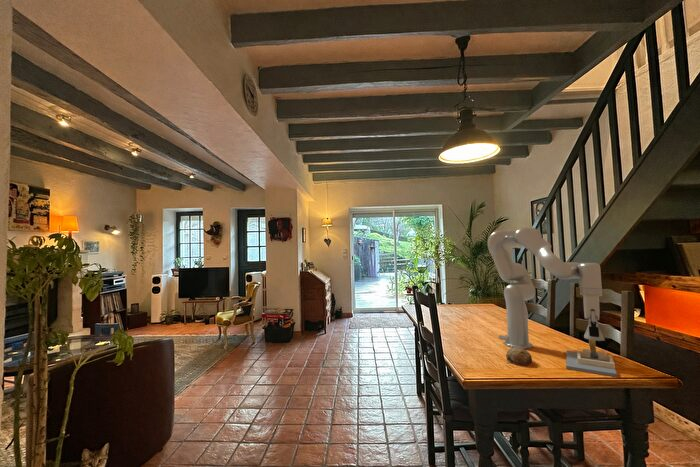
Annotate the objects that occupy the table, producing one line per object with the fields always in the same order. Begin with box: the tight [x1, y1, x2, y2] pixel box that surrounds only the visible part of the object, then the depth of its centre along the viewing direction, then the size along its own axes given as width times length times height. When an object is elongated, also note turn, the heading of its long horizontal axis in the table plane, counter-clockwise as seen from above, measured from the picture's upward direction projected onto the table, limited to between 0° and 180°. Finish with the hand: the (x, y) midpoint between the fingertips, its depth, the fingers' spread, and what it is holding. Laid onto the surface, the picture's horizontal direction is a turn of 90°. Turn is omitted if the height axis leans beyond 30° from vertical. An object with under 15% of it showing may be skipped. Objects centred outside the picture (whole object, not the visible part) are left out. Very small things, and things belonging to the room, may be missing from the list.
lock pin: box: [588, 339, 598, 358], centre depth 145 cm, size 2×14×8 cm, turn 145°
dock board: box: [565, 348, 618, 378], centre depth 135 cm, size 16×24×4 cm, turn 145°
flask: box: [583, 318, 606, 342], centre depth 135 cm, size 7×7×10 cm
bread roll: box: [506, 347, 533, 367], centre depth 139 cm, size 10×10×8 cm
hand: (593, 334), depth 135 cm, fingers closed on flask, 4 cm apart
